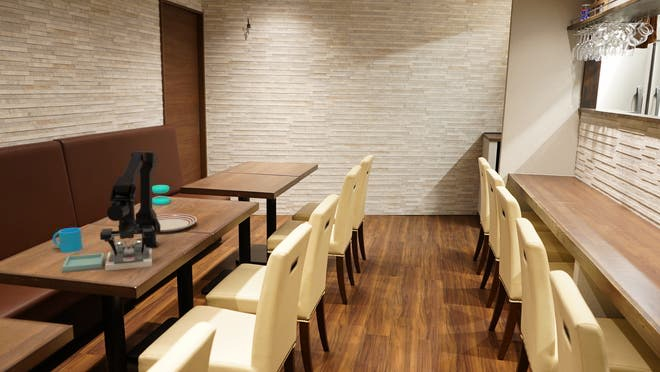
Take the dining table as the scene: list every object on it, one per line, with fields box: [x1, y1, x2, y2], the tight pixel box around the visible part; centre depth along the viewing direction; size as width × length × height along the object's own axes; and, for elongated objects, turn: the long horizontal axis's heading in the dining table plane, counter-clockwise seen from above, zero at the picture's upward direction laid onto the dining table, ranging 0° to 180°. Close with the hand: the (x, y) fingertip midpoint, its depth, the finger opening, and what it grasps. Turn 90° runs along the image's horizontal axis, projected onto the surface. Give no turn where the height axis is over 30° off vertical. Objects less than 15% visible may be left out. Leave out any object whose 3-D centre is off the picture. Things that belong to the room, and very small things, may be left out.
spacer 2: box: [122, 243, 136, 257], centre depth 201 cm, size 4×4×4 cm
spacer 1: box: [115, 239, 127, 254], centre depth 206 cm, size 4×4×4 cm
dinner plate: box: [156, 213, 198, 233], centre depth 253 cm, size 28×27×3 cm
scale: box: [104, 247, 153, 272], centre depth 203 cm, size 17×16×4 cm
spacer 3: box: [132, 238, 146, 252], centre depth 208 cm, size 4×4×4 cm
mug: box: [52, 227, 83, 254], centre depth 218 cm, size 12×8×8 cm
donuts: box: [152, 184, 171, 206], centre depth 301 cm, size 10×10×10 cm
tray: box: [61, 252, 106, 273], centre depth 199 cm, size 13×13×2 cm
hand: (129, 254), depth 202 cm, fingers open, 9 cm apart
